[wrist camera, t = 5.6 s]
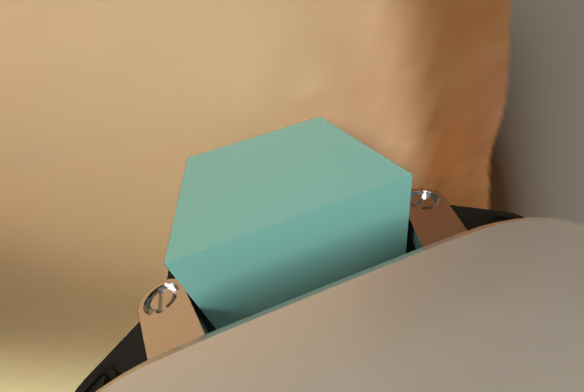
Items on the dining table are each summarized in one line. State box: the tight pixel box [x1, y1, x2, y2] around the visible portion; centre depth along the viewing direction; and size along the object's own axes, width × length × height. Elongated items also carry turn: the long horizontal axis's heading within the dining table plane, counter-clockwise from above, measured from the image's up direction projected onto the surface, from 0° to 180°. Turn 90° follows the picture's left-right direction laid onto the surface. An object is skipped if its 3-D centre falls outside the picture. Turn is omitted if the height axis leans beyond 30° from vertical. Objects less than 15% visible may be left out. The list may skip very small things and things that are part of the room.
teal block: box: [164, 117, 413, 329], centre depth 10 cm, size 6×6×6 cm
